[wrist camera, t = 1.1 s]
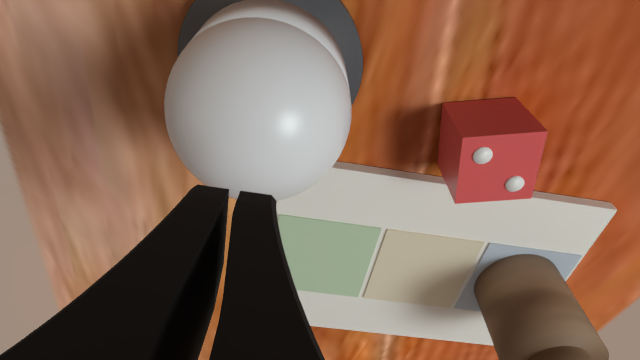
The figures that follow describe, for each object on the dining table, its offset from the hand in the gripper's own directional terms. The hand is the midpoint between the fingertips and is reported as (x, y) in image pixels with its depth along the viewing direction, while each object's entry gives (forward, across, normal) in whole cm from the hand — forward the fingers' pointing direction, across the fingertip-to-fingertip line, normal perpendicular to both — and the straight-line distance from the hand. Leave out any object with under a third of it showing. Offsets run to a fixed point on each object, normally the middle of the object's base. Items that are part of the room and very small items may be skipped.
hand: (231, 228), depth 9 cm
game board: (+10, -9, +10) cm, 16 cm away
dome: (+8, 0, 0) cm, 8 cm away
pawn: (+9, -14, +10) cm, 19 cm away
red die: (+10, -9, +2) cm, 13 cm away
